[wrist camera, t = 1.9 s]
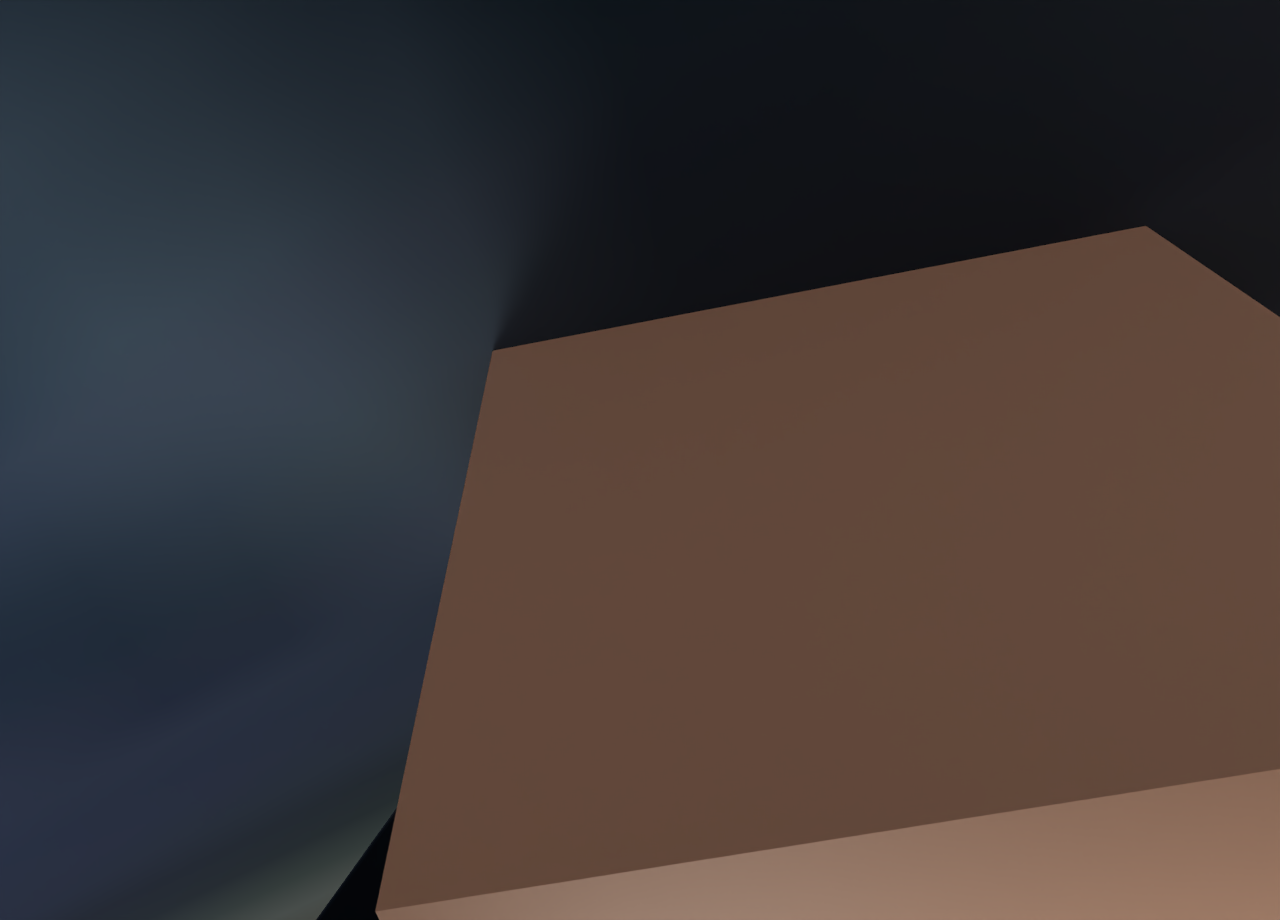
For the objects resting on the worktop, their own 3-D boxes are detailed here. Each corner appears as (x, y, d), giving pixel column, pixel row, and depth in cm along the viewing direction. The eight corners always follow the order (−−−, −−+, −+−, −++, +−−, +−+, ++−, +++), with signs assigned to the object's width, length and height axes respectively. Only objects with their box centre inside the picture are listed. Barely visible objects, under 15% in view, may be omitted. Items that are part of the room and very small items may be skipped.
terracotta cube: (1120, 713, 11) (1494, 1333, 7) (620, 795, 12) (633, 1438, 7) (1144, 226, 9) (1818, 682, 4) (493, 349, 9) (375, 910, 4)
